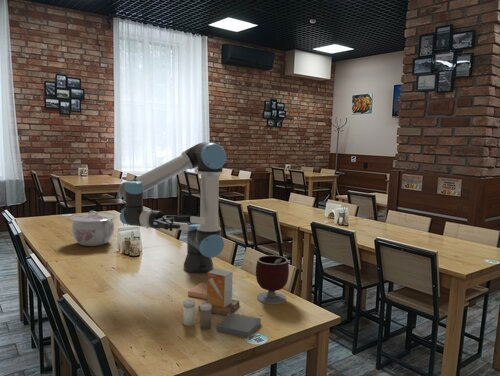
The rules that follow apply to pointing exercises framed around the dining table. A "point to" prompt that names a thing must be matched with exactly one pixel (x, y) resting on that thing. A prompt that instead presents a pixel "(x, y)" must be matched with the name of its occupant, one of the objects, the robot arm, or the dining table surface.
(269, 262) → the mate gourd
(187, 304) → the salt shaker
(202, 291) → the terracotta coaster
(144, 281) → the dining table surface
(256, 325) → the slate coaster
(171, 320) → the dining table surface
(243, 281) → the dining table surface
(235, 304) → the walnut coaster
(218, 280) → the small box
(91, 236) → the chamber pot
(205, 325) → the pepper shaker
